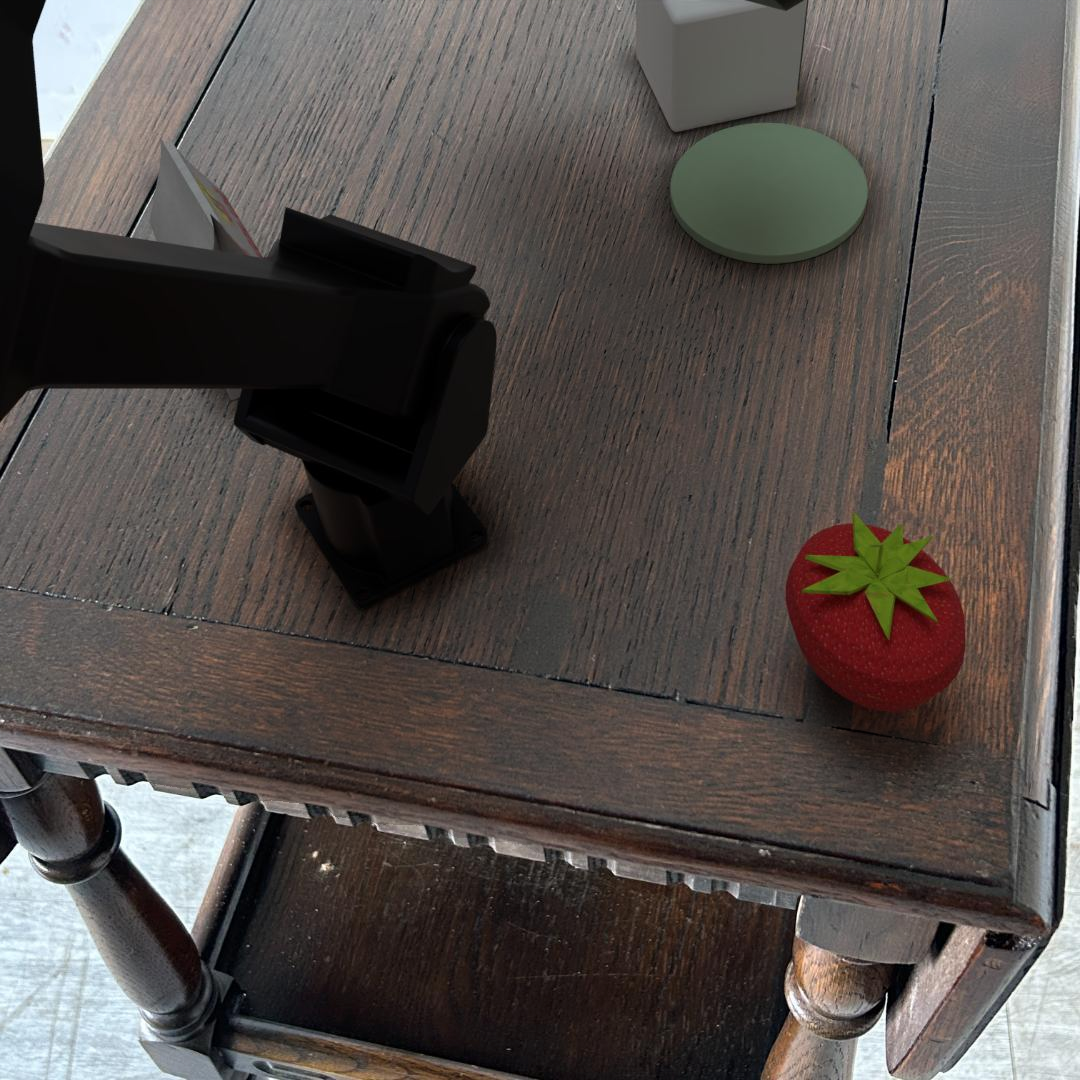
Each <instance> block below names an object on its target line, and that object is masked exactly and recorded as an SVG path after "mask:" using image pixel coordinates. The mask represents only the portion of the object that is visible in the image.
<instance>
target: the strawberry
mask: <svg viewBox="0 0 1080 1080" xmlns="http://www.w3.org/2000/svg"><path fill="white" fill-rule="evenodd" d="M851 515H852V518H851V519H852V522H849V523H841V524H835V525H831V526H829V527H826V528H823V529H821V530H819V531H818V532H816V533H815V534H813V535H812V536H810V537H809V538H808V540H806V542H805V543H804V544H803V545H802V547H801V548H800V550H799V551H798V553H797V554H796V557H795V559H794V560H793V562H792V565H791V566H790V568H789V570H788V574H787V578H786V582H785V604H786V610H787V613H788V618H789V621H790V624H791V627H792V630H793V633H794V636H795V639H796V642H797V644H798V647H799V649H800V652H801V654H802V655H803V657H804V659H805V660H806V661H807V663H808V665H809V667H810V668H811V669H812V670H813V671H814V673H815V674H816V675H817V676H818V677H819V678H820V680H821V681H823V682H824V683H825V684H826V685H827V686H828V687H830V688H831V689H832V690H833V691H834V692H836V693H837V694H839V695H840V696H841V697H843V698H845V699H846V700H848V701H850V702H853V703H855V704H857V705H860V706H861V707H865V708H868V709H870V710H871V709H872V710H875V711H879V712H880V711H881V712H891V713H893V712H903V711H909V710H912V709H914V708H915V709H916V708H918V707H920V706H922V705H923V704H925V703H926V702H927V701H929V700H930V699H932V698H934V697H935V696H936V695H938V694H939V693H941V692H942V691H944V690H945V689H946V688H948V687H949V686H950V685H951V683H953V681H954V680H955V679H956V678H957V676H958V675H959V672H960V671H961V668H962V666H963V663H964V660H965V659H964V658H965V652H966V622H965V612H964V609H963V606H962V602H961V598H960V596H959V594H958V592H957V590H956V588H955V586H954V584H953V582H952V580H954V578H951V577H948V575H947V574H946V572H945V571H944V570H943V568H942V567H941V566H940V565H939V564H938V563H937V562H936V561H935V560H934V559H933V558H932V557H931V556H930V554H928V553H927V552H926V551H924V550H923V549H924V548H925V547H926V546H927V545H928V543H930V541H932V539H934V535H931V536H928V537H925V538H920V539H918V540H915V541H910V540H909V539H907V538H905V537H904V533H903V532H904V531H903V523H900V524H898V526H896V527H895V529H893V531H891V530H888V529H886V528H884V527H879V526H875V525H871V524H867V523H866V524H865V523H864V522H863V521H862V519H861V518H860V516H858V514H856V512H855V511H853V512H852V514H851Z"/></svg>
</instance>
